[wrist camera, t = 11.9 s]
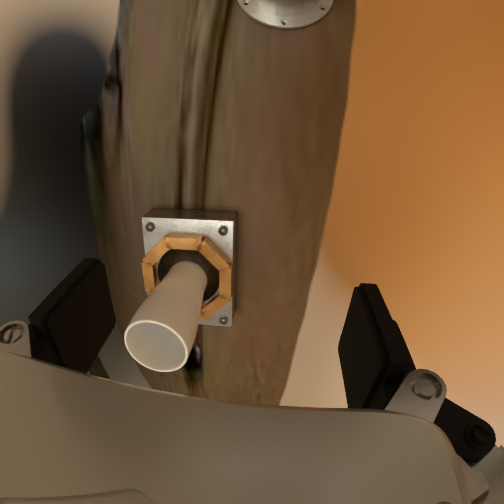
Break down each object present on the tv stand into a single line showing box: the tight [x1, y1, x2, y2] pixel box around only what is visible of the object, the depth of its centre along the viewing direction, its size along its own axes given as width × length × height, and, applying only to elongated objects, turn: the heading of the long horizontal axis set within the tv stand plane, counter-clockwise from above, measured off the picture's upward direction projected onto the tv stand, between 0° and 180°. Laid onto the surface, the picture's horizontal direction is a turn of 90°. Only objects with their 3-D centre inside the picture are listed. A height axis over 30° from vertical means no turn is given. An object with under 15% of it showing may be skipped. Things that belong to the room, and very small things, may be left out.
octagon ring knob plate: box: [142, 208, 237, 327], centre depth 44 cm, size 16×12×6 cm
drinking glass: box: [124, 261, 207, 372], centre depth 36 cm, size 7×7×15 cm
